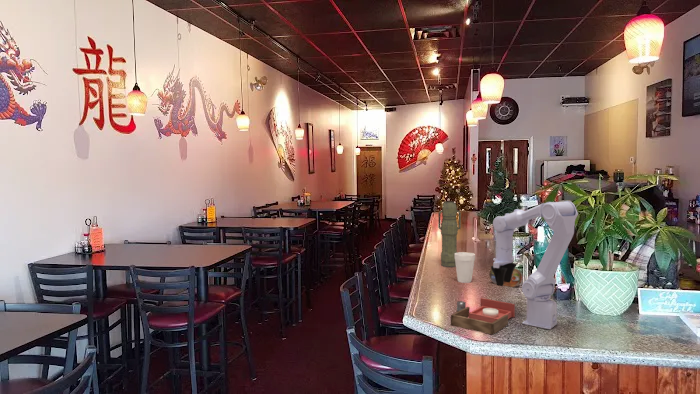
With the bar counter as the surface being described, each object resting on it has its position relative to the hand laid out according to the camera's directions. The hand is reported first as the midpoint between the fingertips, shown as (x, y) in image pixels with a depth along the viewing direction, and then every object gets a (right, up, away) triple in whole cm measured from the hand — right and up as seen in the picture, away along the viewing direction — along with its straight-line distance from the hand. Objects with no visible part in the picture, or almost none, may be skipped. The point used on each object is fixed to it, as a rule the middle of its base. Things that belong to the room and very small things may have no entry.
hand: (503, 283), depth 181 cm
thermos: (-4, -5, +83) cm, 83 cm away
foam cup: (-3, -8, +47) cm, 48 cm away
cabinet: (-13, -12, -14) cm, 22 cm away
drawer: (-7, -11, -8) cm, 16 cm away
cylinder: (-16, -11, 0) cm, 19 cm away
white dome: (-7, -10, -8) cm, 15 cm away
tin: (+14, -8, +40) cm, 43 cm away
